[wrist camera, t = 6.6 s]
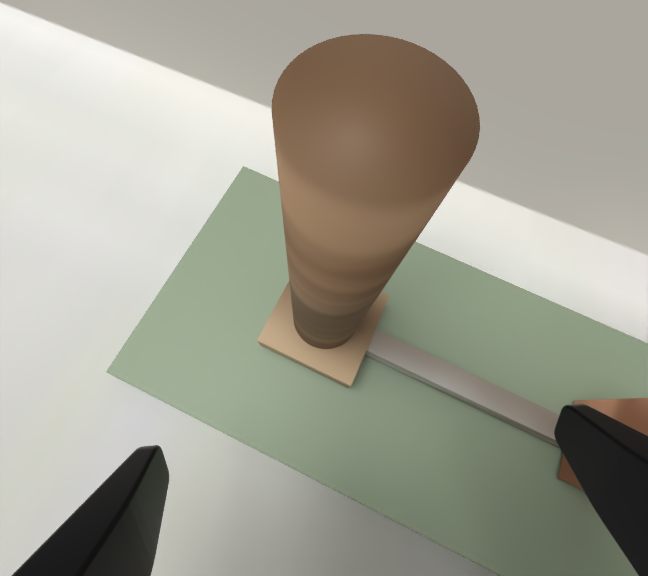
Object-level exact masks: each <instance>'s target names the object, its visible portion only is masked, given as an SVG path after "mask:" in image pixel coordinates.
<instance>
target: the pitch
mask: <svg viewBox="0 0 648 576" xmlns="http://www.w3.org/2000/svg"><path fill="white" fill-rule="evenodd" d="M288 282H289V272H288V263H287V253H286V244H285V234H284V224H283V215H282V205H281V196H280V186H279V182H278V181H276V180H273V179H271V178H269V177H267V176H264V175H262V174H260V173H258V172H255V171H253V170H251V169H248V168H246V167H244V166H243V168H242V169H241V171H240V172H239V174H238V175H237V177H236V178H235V180H234V181H233V183H232V184H231V186H230V187H229V189H228V190H227V192H226V193H225V195H224V196H223V198H222V199H221V201H220V202H219V204H218V205H217V207H216V208H215V210H214V211H213V213H212V214H211V216H210V217H209V219H208V220H207V222H206V223H205V225H204V226H203V228H202V229H201V231H200V232H199V233H198V235H197V236H196V238H195V239H194V241H193V242H192V244H191V245H190V247H189V248H188V250H187V251H186V253H185V254H184V256H183V257H182V259H181V260H180V262H179V263H178V265H177V266H176V268H175V269H174V271H173V272H172V274H171V275H170V277H169V278H168V280H167V281H166V283H165V284H164V286H163V287H162V289H161V290H160V292H159V293H158V295H157V296H156V298H155V299H154V301H153V302H152V304H151V305H150V307H149V308H148V310H147V311H146V313H145V314H144V316H143V317H142V319H141V320H140V322H139V323H138V325H137V326H136V328H135V329H134V331H133V332H132V334H131V335H130V337H129V338H128V340H127V341H126V343H125V344H124V346H123V347H122V349H121V350H120V352H119V353H118V355H117V356H116V358H115V359H114V361H113V362H112V364H111V365H110V367H109V368H108V370H107V371H106V372H107V373H109V374H111V375H113V376H115V377H117V378H119V379H120V380H122V381H124V382H126V383H128V384H130V385H132V386H134V387H136V388H138V389H140V390H142V391H144V392H146V393H148V394H150V395H151V396H153V397H155V398H157V399H159V400H161V401H163V402H165V403H167V404H169V405H171V406H173V407H175V408H177V409H179V410H180V411H182V412H184V413H186V414H188V415H190V416H192V417H194V418H196V419H198V420H200V421H202V422H204V423H206V424H208V425H210V426H211V427H213V428H215V429H217V430H219V431H221V432H223V433H225V434H227V435H229V436H231V437H233V438H235V439H237V440H239V441H241V442H242V443H244V444H246V445H248V446H250V447H252V448H254V449H256V450H258V451H260V452H262V453H264V454H266V455H268V456H270V457H272V458H273V459H275V460H277V461H279V462H281V463H283V464H285V465H287V466H289V467H291V468H293V469H295V470H297V471H299V472H301V473H302V474H304V475H306V476H308V477H310V478H312V479H314V480H316V481H318V482H320V483H322V484H324V485H326V486H328V487H330V488H332V489H333V490H335V491H337V492H339V493H341V494H343V495H345V496H347V497H349V498H351V499H353V500H355V501H357V502H359V503H361V504H363V505H364V506H366V507H368V508H370V509H372V510H374V511H376V512H378V513H380V514H382V515H384V516H386V517H388V518H390V519H392V520H394V521H395V522H397V523H399V524H401V525H403V526H405V527H407V528H409V529H411V530H413V531H415V532H417V533H419V534H421V535H423V536H424V537H426V538H428V539H430V540H432V541H434V542H436V543H438V544H440V545H442V546H444V547H446V548H448V549H450V550H452V551H454V552H455V553H457V554H459V555H461V556H463V557H465V558H467V559H469V560H471V561H473V562H475V563H477V564H479V565H481V566H483V567H485V568H486V569H488V570H490V571H492V572H494V573H496V574H498V575H500V576H638V574H637V573H636V571H635V570H634V568H633V567H632V565H631V564H630V562H629V561H628V559H627V558H626V556H625V555H624V553H623V552H622V550H621V549H620V547H619V546H618V544H617V543H616V541H615V540H614V538H613V537H612V535H611V534H610V532H609V531H608V529H607V528H606V526H605V525H604V523H603V522H602V520H601V519H600V517H599V516H598V514H597V513H596V511H595V509H594V508H593V506H592V504H591V503H590V501H589V499H588V498H587V496H586V494H585V492H584V491H583V490H581V489H579V488H577V487H575V486H573V485H570V484H568V483H566V482H564V481H562V480H560V479H558V476H559V471H560V466H561V462H562V457H563V453H562V451H561V449H560V448H559V447H557V446H555V445H553V444H551V443H549V442H547V441H544V440H542V439H540V438H538V437H536V436H534V435H532V434H530V433H528V432H526V431H523V430H521V429H519V428H517V427H515V426H513V425H511V424H509V423H507V422H504V421H502V420H500V419H498V418H496V417H494V416H492V415H490V414H488V413H486V412H483V411H481V410H479V409H477V408H475V407H473V406H471V405H469V404H467V403H465V402H462V401H460V400H458V399H456V398H454V397H452V396H450V395H448V394H446V393H443V392H441V391H439V390H437V389H435V388H433V387H431V386H429V385H427V384H425V383H422V382H420V381H418V380H416V379H414V378H412V377H410V376H408V375H406V374H404V373H401V372H399V371H397V370H395V369H393V368H391V367H389V366H387V365H385V364H382V363H380V362H378V361H376V360H374V359H372V358H370V357H368V356H366V355H364V357H363V359H362V362H361V364H360V366H359V369H358V371H357V373H356V376H355V378H354V380H353V383H352V385H351V386H350V387H348V388H347V387H345V386H343V385H341V384H339V383H337V382H335V381H333V380H331V379H329V378H326V377H324V376H322V375H320V374H318V373H316V372H314V371H312V370H310V369H308V368H306V367H304V366H302V365H300V364H298V363H296V362H294V361H292V360H289V359H287V358H285V357H283V356H281V355H279V354H277V353H275V352H273V351H271V350H269V349H267V348H265V347H263V346H261V345H260V344H259V343H258V341H257V339H258V337H259V335H260V334H261V332H262V330H263V328H264V326H265V324H266V322H267V321H268V319H269V317H270V315H271V313H272V311H273V309H274V308H275V306H276V304H277V302H278V300H279V298H280V296H281V295H282V293H283V291H284V289H285V287H286V285H287V283H288ZM382 292H384V293H386V294H388V295H390V296H389V298H388V301H387V303H386V305H385V308H384V310H383V312H382V315H381V317H380V319H379V322H378V324H377V326H376V329H377V330H379V331H381V332H383V333H385V334H388V335H390V336H392V337H394V338H396V339H398V340H400V341H403V342H405V343H407V344H409V345H411V346H413V347H415V348H418V349H420V350H422V351H424V352H426V353H428V354H430V355H433V356H435V357H437V358H439V359H441V360H443V361H445V362H448V363H450V364H452V365H454V366H456V367H458V368H460V369H463V370H465V371H467V372H469V373H471V374H473V375H475V376H478V377H480V378H482V379H484V380H486V381H488V382H490V383H493V384H495V385H497V386H499V387H501V388H503V389H505V390H508V391H510V392H512V393H514V394H516V395H518V396H520V397H523V398H525V399H527V400H529V401H531V402H533V403H535V404H538V405H540V406H542V407H544V408H546V409H548V410H550V411H553V412H555V413H557V414H559V415H560V412H561V409H562V408H563V407H564V406H565V405H569V404H574V400H598V399H629V398H648V344H647V343H645V342H643V341H641V340H638V339H636V338H634V337H631V336H629V335H627V334H625V333H622V332H620V331H618V330H616V329H613V328H611V327H609V326H606V325H604V324H602V323H600V322H597V321H595V320H593V319H590V318H588V317H586V316H584V315H581V314H579V313H577V312H574V311H572V310H570V309H568V308H565V307H563V306H561V305H559V304H556V303H554V302H552V301H549V300H547V299H545V298H543V297H540V296H538V295H536V294H533V293H531V292H529V291H527V290H524V289H522V288H520V287H517V286H515V285H513V284H511V283H508V282H506V281H504V280H502V279H499V278H497V277H495V276H492V275H490V274H488V273H486V272H483V271H481V270H479V269H476V268H474V267H472V266H470V265H467V264H465V263H463V262H460V261H458V260H456V259H454V258H451V257H449V256H447V255H445V254H442V253H440V252H438V251H435V250H433V249H431V248H429V247H426V246H424V245H422V244H419V243H417V242H414V244H413V245H412V247H411V248H410V250H409V251H408V253H407V254H406V256H405V257H404V259H403V260H402V262H401V263H400V265H399V266H398V268H397V269H396V271H395V272H394V274H393V275H392V277H391V278H390V280H389V281H388V283H387V284H386V286H385V287H384V289H383V290H382Z"/></svg>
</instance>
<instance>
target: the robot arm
mask: <svg viewBox="0 0 648 576" xmlns="http://www.w3.org/2000/svg"><path fill="white" fill-rule="evenodd" d="M554 436H555V439H556V442H557V444H558V445H559V447H560V449H561V451H562V453H563V454H564V456H565V458H566V460H567V462H568V463H569V465H570V467H571V469H572V471H573V472H574V474H575V476H576V478H577V480H578V481H579V483H580V485H581V487H582V489H583V490H584V492H585V494H586V496H587V498H588V499H589V501H590V503H591V504H592V506H593V508H594V509H595V511H596V513H597V514H598V516H599V517H600V519H601V520H602V522H603V523H604V525H605V526H606V528H607V529H608V531H609V532H610V534H611V535H612V537H613V538H614V540H615V541H616V543H617V544H618V546H619V547H620V549H621V550H622V552H623V553H624V555H625V556H626V558H627V559H628V561H629V562H630V564H631V565H632V567H633V568H634V570H635V571H636V573H637V574H638V576H648V436H647V435H645V434H643V433H641V432H639V431H637V430H635V429H633V428H631V427H629V426H627V425H625V424H623V423H621V422H619V421H617V420H615V419H613V418H611V417H609V416H607V415H606V414H604V413H602V412H600V411H598V410H596V409H594V408H592V407H590V406H588V405H585V404H569V405H565V406H564V407H563V408H562V409H561V412H560V415H559V418H558V420H557V423H556V426H555V429H554ZM168 484H169V471H168V468H167V464H166V461H165V458H164V455H163V451H162V449H161V447H160V446H157V445H155V446H145V447H140V448H138V449H136V450H135V451H134V452H133V453H132V454H131V455H130V456H129V457H128V458H127V459H126V460H125V461H124V462H123V463H122V464H121V465H120V466H119V467H118V468H117V469H116V470H115V471H114V472H113V473H112V475H111V476H110V477H109V478H108V479H107V480H106V481H105V482H104V483H103V484H102V485H101V486H100V487H99V488H98V489H97V490H96V491H95V492H94V493H93V494H92V495H91V496H90V497H89V498H88V499H87V500H86V501H85V502H84V503H83V504H82V505H81V506H80V507H79V508H78V509H77V510H76V511H75V512H74V513H73V514H72V515H71V516H70V517H69V518H68V519H67V520H66V521H65V522H64V523H63V524H62V525H61V526H60V527H59V528H58V529H57V530H56V531H55V532H54V533H53V534H52V535H51V536H50V537H49V538H48V539H47V540H46V541H45V542H44V543H43V544H42V545H41V546H40V547H39V548H38V549H37V550H36V551H35V553H34V554H33V555H32V556H31V557H30V558H29V559H28V560H27V561H26V562H25V563H24V564H23V565H22V566H21V567H20V568H19V569H18V570H17V571H16V572H15V573H14V574H13V575H12V576H150V575H151V572H152V568H153V564H154V559H155V554H156V549H157V544H158V538H159V533H160V527H161V522H162V516H163V511H164V506H165V500H166V495H167V489H168Z"/></svg>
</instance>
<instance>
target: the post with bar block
mask: <svg viewBox="0 0 648 576" xmlns="http://www.w3.org/2000/svg"><path fill="white" fill-rule="evenodd" d="M272 119H273V128H274V138H275V148H276V157H277V167H278V176H279V186H280V196H281V205H282V215H283V224H284V234H285V244H286V253H287V263H288V272H289V282H288V283H287V285H286V287H285V289H284V291H283V293H282V295H281V296H280V298H279V300H278V302H277V304H276V306H275V308H274V309H273V311H272V313H271V315H270V317H269V319H268V321H267V322H266V324H265V326H264V328H263V330H262V332H261V334H260V335H259V337H258V339H257V341H258V343H259V344H260V345H261V346H263V347H265V348H267V349H269V350H271V351H273V352H275V353H277V354H279V355H281V356H283V357H285V358H287V359H289V360H292V361H294V362H296V363H298V364H300V365H302V366H304V367H306V368H308V369H310V370H312V371H314V372H316V373H318V374H320V375H322V376H324V377H326V378H329V379H331V380H333V381H335V382H337V383H339V384H341V385H343V386H345V387H347V388H348V387H350V386H351V385H352V383H353V380H354V378H355V376H356V373H357V371H358V369H359V366H360V364H361V362H362V359H363V357H364V355H366V356H368V357H370V358H372V359H374V360H376V361H378V362H380V363H382V364H385V365H387V366H389V367H391V368H393V369H395V370H397V371H399V372H401V373H404V374H406V375H408V376H410V377H412V378H414V379H416V380H418V381H420V382H422V383H425V384H427V385H429V386H431V387H433V388H435V389H437V390H439V391H441V392H443V393H446V394H448V395H450V396H452V397H454V398H456V399H458V400H460V401H462V402H465V403H467V404H469V405H471V406H473V407H475V408H477V409H479V410H481V411H483V412H486V413H488V414H490V415H492V416H494V417H496V418H498V419H500V420H502V421H504V422H507V423H509V424H511V425H513V426H515V427H517V428H519V429H521V430H523V431H526V432H528V433H530V434H532V435H534V436H536V437H538V438H540V439H542V440H544V441H547V442H549V443H551V444H553V445H555V446H557V447H559V445H558V444H557V442H556V439H555V436H554V429H555V426H556V423H557V420H558V418H559V414H557V413H555V412H553V411H550V410H548V409H546V408H544V407H542V406H540V405H538V404H535V403H533V402H531V401H529V400H527V399H525V398H523V397H520V396H518V395H516V394H514V393H512V392H510V391H508V390H505V389H503V388H501V387H499V386H497V385H495V384H493V383H490V382H488V381H486V380H484V379H482V378H480V377H478V376H475V375H473V374H471V373H469V372H467V371H465V370H463V369H460V368H458V367H456V366H454V365H452V364H450V363H448V362H445V361H443V360H441V359H439V358H437V357H435V356H433V355H430V354H428V353H426V352H424V351H422V350H420V349H418V348H415V347H413V346H411V345H409V344H407V343H405V342H403V341H400V340H398V339H396V338H394V337H392V336H390V335H388V334H385V333H383V332H381V331H379V330H377V329H376V326H377V324H378V322H379V319H380V317H381V315H382V312H383V310H384V308H385V305H386V303H387V301H388V298H389V296H390V295H388V294H386V293H384V292H382V290H383V289H384V287H385V286H386V284H387V283H388V281H389V280H390V278H391V277H392V275H393V274H394V272H395V271H396V269H397V268H398V266H399V265H400V263H401V262H402V260H403V259H404V257H405V256H406V254H407V253H408V251H409V250H410V248H411V247H412V245H413V244H414V242H415V241H416V239H417V238H418V236H419V235H420V233H421V232H422V230H423V229H424V228H425V226H426V225H427V223H428V222H429V220H430V219H431V217H432V216H433V214H434V213H435V211H436V210H437V208H438V207H439V205H440V204H441V202H442V201H443V199H444V198H445V196H446V195H447V193H448V192H449V190H450V189H451V187H452V186H453V184H454V183H455V181H456V180H457V178H458V177H459V175H460V174H461V172H462V171H463V169H464V168H465V166H466V165H467V163H468V162H469V160H470V159H471V157H472V155H473V153H474V151H475V149H476V145H477V142H478V138H479V130H480V122H479V114H478V109H477V105H476V102H475V100H474V97H473V95H472V93H471V91H470V89H469V87H468V86H467V85H466V83H465V82H464V80H463V79H462V78H461V76H460V75H459V74H458V73H457V72H456V71H455V70H454V69H453V68H452V67H451V66H450V65H449V64H447V63H446V62H445V61H444V60H442V59H441V58H439V57H438V56H437V55H435V54H434V53H432V52H430V51H428V50H427V49H425V48H423V47H420V46H418V45H416V44H414V43H411V42H408V41H405V40H402V39H398V38H394V37H389V36H382V35H370V34H360V35H348V36H341V37H337V38H333V39H329V40H326V41H324V42H321V43H319V44H316V45H314V46H313V47H311V48H309V49H307V50H306V51H304V52H303V53H301V54H300V55H298V56H297V57H296V58H295V59H294V60H293V61H292V62H291V63H290V64H289V65H288V66H287V68H286V69H285V70H284V71H283V73H282V75H281V76H280V78H279V80H278V82H277V85H276V87H275V90H274V94H273V99H272ZM574 404H585V405H588V406H590V407H592V408H594V409H596V410H598V411H600V412H602V413H604V414H606V415H607V416H609V417H611V418H613V419H615V420H617V421H619V422H621V423H623V424H625V425H627V426H629V427H631V428H633V429H635V430H637V431H639V432H641V433H643V434H645V435H647V436H648V398H629V399H598V400H574ZM559 448H560V447H559ZM558 479H560V480H562V481H564V482H566V483H568V484H570V485H573V486H575V487H577V488H579V489H581V490H583V489H582V487H581V485H580V483H579V481H578V480H577V478H576V476H575V474H574V472H573V471H572V469H571V467H570V465H569V463H568V462H567V460H566V458H565V456H564V454H563V457H562V462H561V466H560V471H559V476H558ZM583 491H584V490H583Z"/></svg>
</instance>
